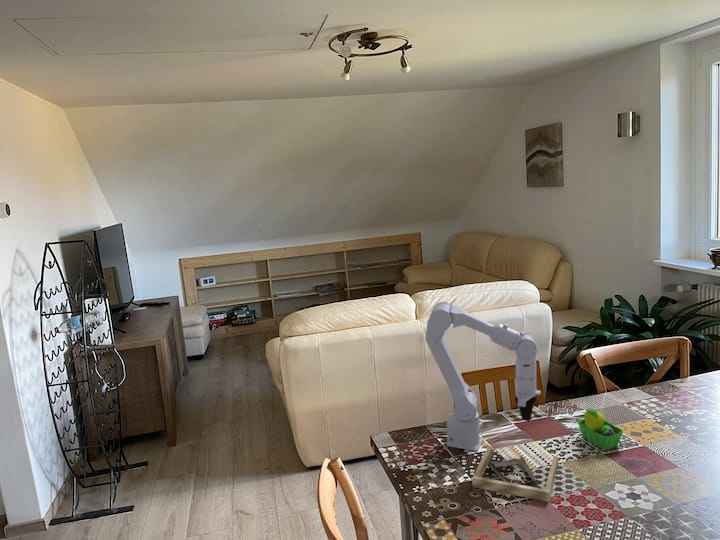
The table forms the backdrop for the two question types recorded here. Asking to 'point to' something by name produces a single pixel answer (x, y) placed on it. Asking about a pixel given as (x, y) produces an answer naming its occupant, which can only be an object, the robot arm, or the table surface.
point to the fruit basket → (599, 430)
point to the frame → (511, 487)
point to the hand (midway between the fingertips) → (526, 419)
